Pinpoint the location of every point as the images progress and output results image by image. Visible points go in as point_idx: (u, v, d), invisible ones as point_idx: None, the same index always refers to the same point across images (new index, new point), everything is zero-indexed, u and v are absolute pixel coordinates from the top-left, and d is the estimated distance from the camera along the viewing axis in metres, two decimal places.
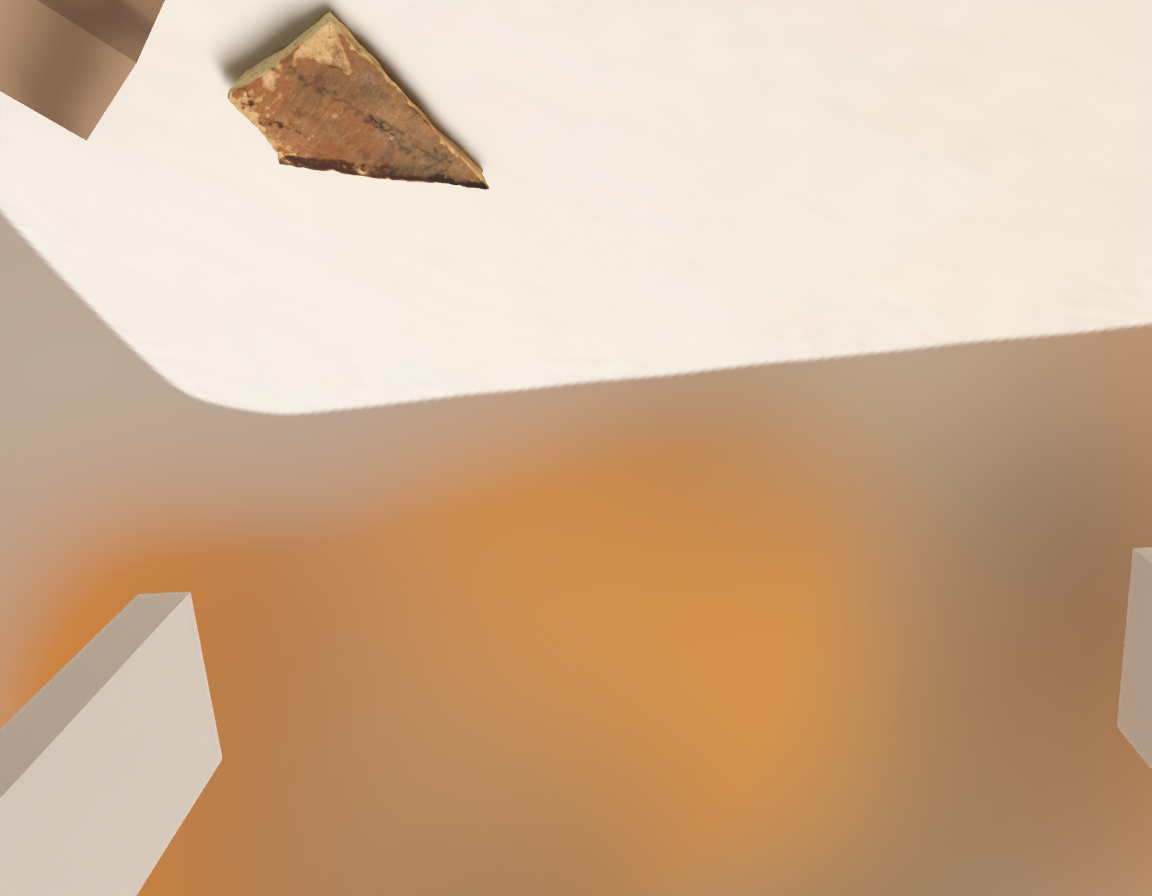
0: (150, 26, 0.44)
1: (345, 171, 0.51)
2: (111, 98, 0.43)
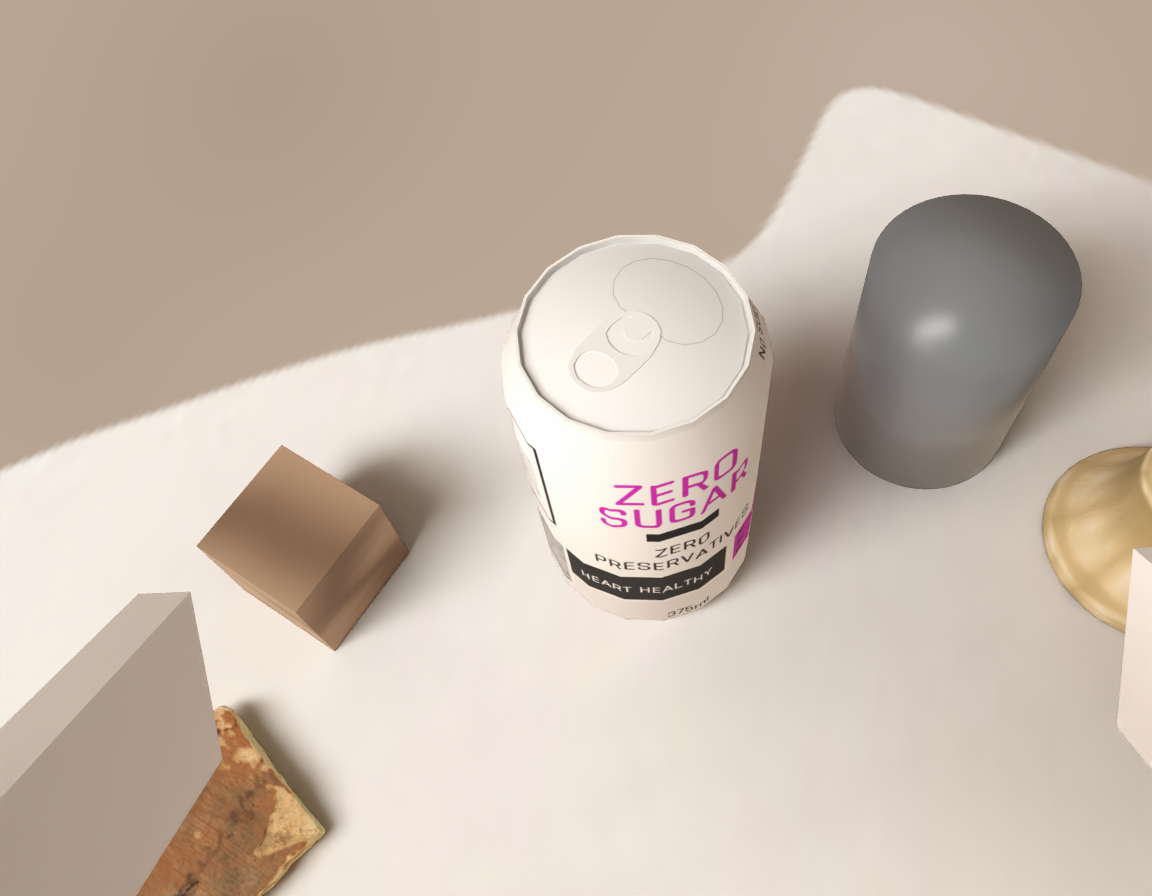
0: (317, 631, 0.41)
1: None
2: (250, 580, 0.39)
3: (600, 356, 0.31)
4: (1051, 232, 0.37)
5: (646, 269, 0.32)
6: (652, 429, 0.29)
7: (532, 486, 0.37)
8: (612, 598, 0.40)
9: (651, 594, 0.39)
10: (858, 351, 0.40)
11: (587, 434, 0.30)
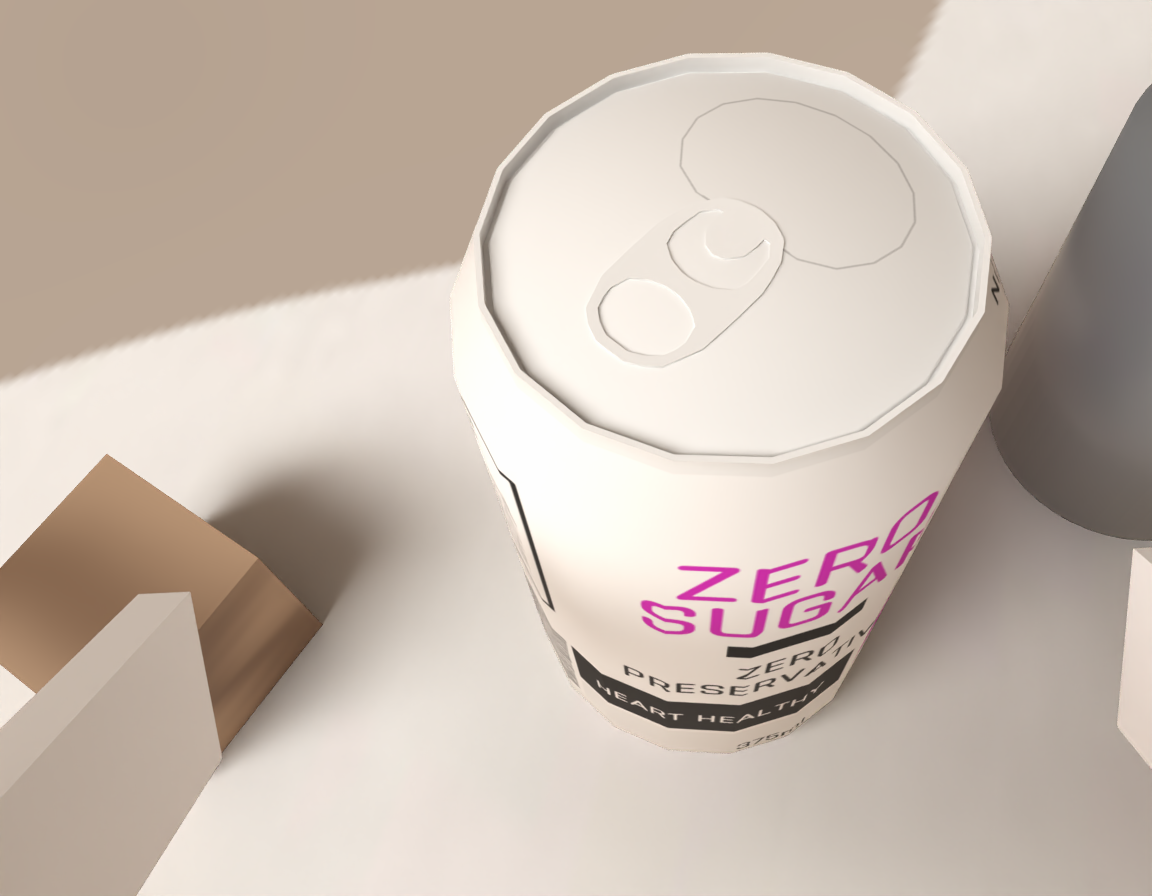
0: None
1: None
2: (31, 685, 0.23)
3: (654, 290, 0.14)
4: None
5: (748, 119, 0.16)
6: (774, 452, 0.13)
7: (513, 539, 0.21)
8: (647, 723, 0.24)
9: (717, 723, 0.23)
10: (1070, 314, 0.24)
11: (626, 458, 0.13)
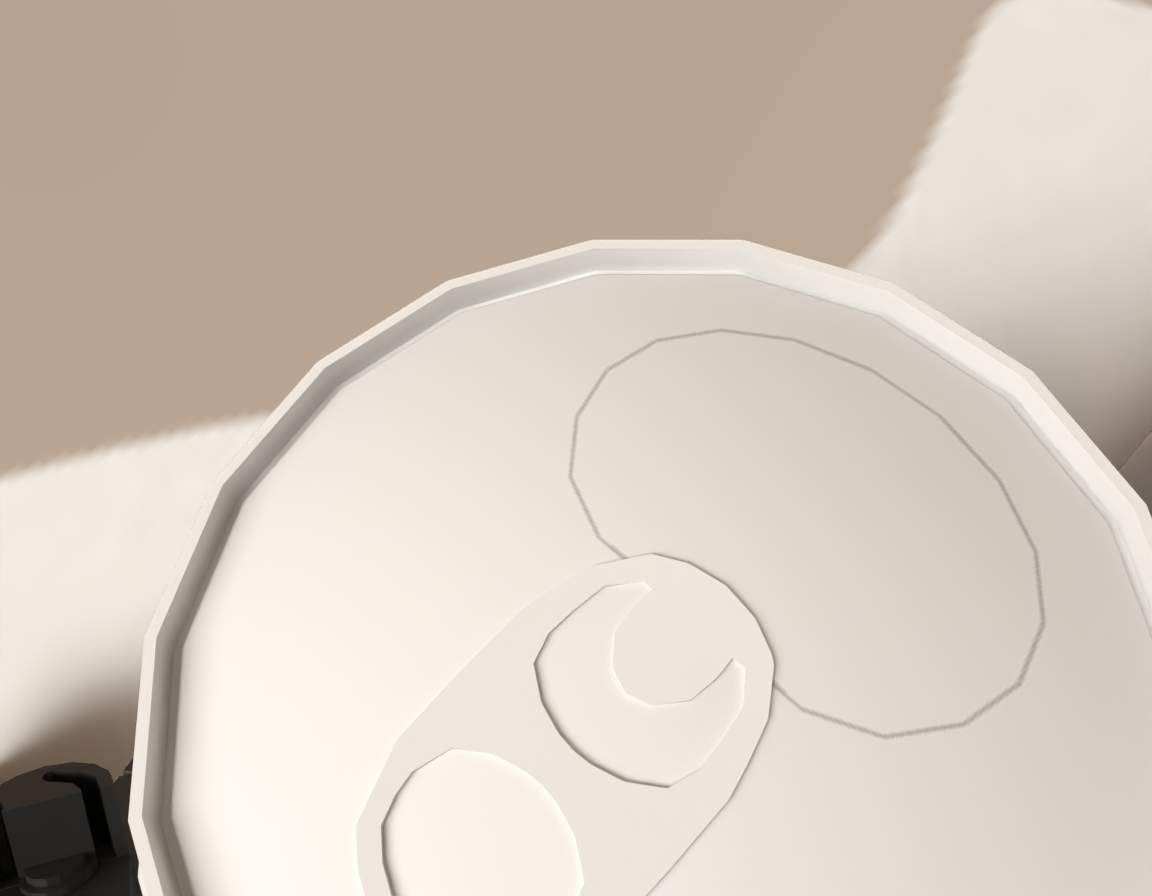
0: None
1: None
2: None
3: (503, 779, 0.07)
4: None
5: (705, 374, 0.08)
6: None
7: None
8: None
9: None
10: None
11: None
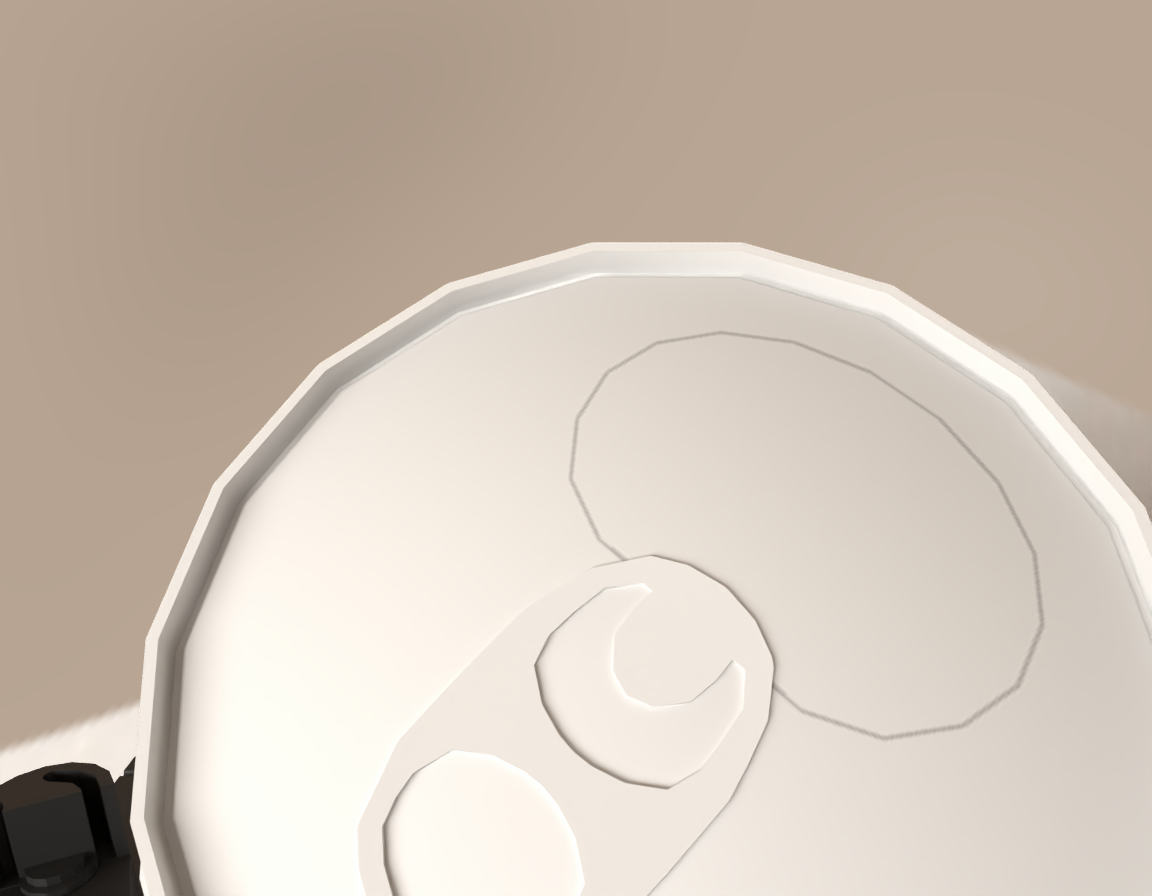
0: None
1: None
2: None
3: (504, 781, 0.07)
4: None
5: (704, 377, 0.08)
6: None
7: None
8: None
9: None
10: None
11: None
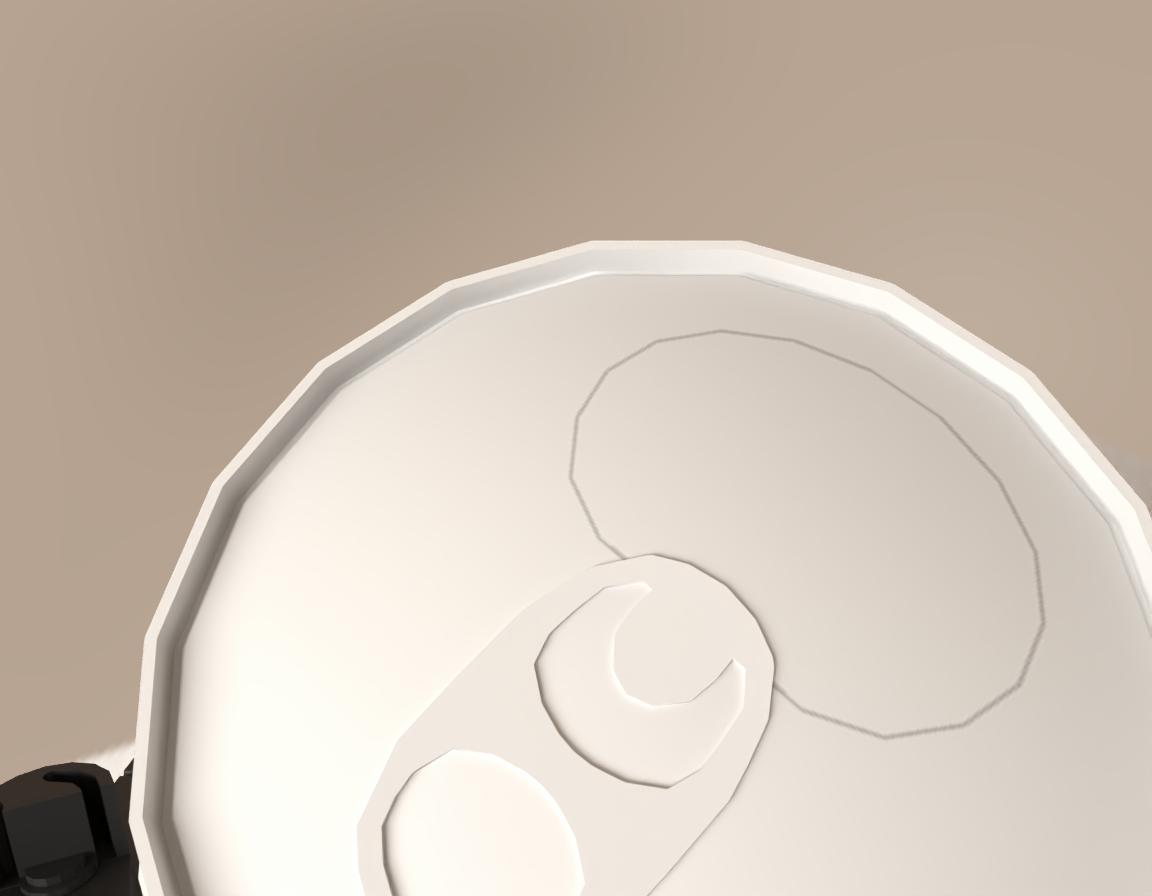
0: None
1: None
2: None
3: (504, 779, 0.07)
4: None
5: (705, 376, 0.08)
6: None
7: None
8: None
9: None
10: None
11: None
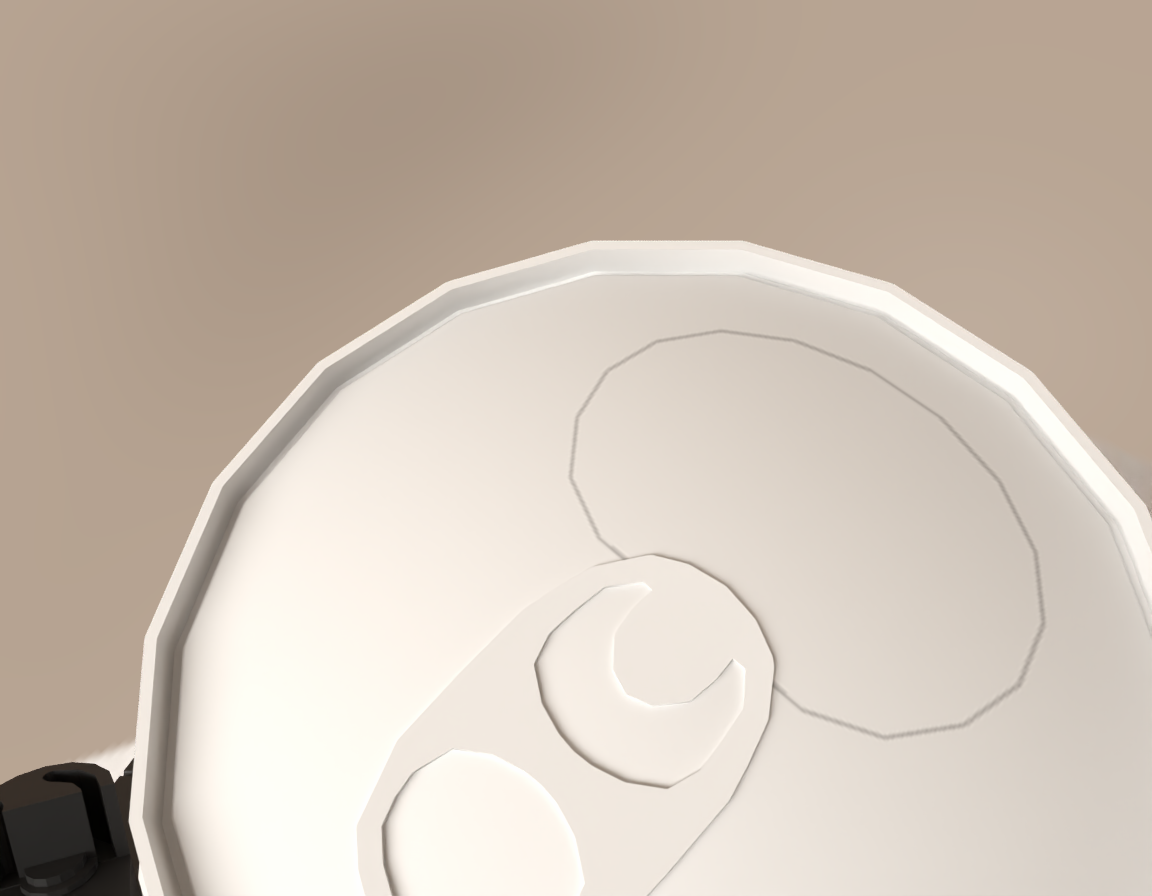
0: None
1: None
2: None
3: (504, 779, 0.07)
4: None
5: (705, 376, 0.08)
6: None
7: None
8: None
9: None
10: None
11: None
